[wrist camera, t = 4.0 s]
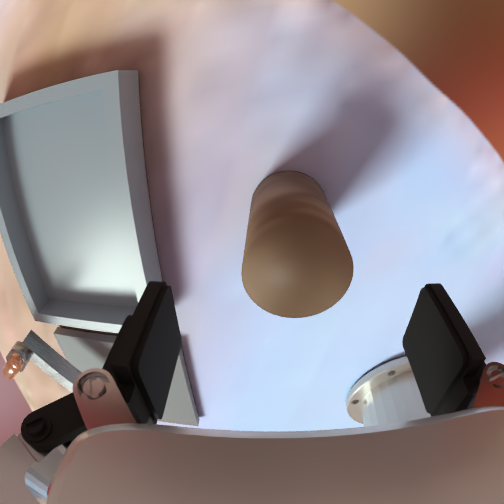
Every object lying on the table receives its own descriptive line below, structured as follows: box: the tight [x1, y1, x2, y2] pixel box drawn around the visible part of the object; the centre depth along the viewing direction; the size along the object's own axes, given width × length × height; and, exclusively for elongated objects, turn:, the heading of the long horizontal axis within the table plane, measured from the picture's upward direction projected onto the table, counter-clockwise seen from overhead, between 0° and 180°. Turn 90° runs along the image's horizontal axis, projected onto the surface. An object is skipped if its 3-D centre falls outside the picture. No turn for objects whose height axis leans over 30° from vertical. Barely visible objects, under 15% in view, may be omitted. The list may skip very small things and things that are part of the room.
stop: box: [242, 171, 353, 318], centre depth 18 cm, size 5×5×8 cm
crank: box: [2, 330, 82, 393], centre depth 25 cm, size 14×5×5 cm, turn 40°
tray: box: [0, 70, 162, 333], centre depth 20 cm, size 13×19×3 cm
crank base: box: [54, 327, 199, 426], centre depth 30 cm, size 14×14×3 cm
